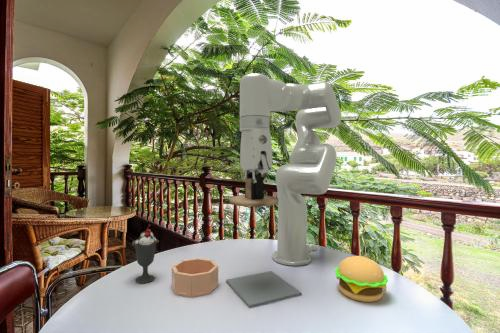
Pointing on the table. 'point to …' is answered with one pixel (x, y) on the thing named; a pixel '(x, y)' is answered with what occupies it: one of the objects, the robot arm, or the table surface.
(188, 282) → the bowl
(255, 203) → the lid
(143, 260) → the sundae
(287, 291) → the mat
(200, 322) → the table surface
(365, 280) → the hamburger
